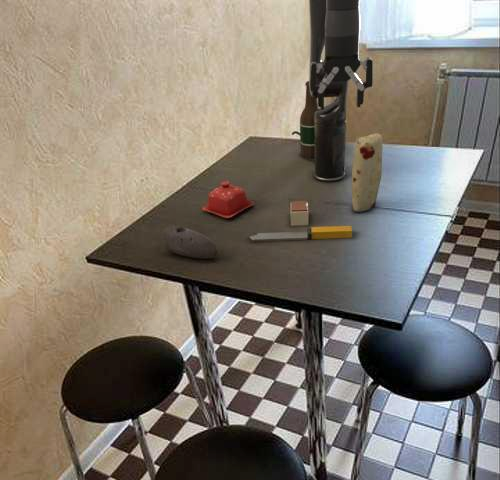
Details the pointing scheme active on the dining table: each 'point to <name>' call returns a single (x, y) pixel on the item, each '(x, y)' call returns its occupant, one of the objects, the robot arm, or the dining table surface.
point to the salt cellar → (299, 213)
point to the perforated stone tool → (188, 243)
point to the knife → (306, 234)
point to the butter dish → (227, 200)
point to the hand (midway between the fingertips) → (340, 107)
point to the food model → (366, 171)
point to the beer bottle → (308, 125)
